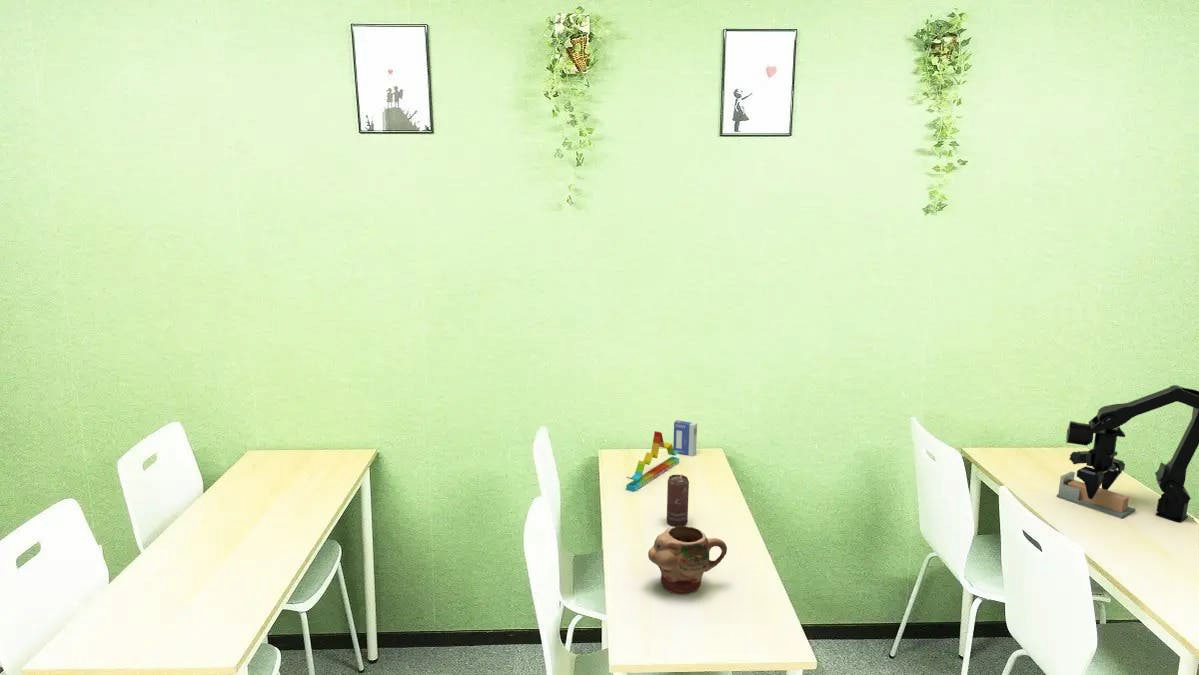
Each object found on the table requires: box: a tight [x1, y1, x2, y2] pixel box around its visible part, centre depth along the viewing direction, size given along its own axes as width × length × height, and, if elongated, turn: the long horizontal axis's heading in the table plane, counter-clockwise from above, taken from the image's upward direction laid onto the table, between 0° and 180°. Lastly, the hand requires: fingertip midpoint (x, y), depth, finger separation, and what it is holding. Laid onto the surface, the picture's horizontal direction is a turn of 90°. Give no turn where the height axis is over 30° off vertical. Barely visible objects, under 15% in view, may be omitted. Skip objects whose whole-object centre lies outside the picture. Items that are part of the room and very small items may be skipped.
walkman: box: [672, 419, 698, 457], centre depth 292 cm, size 8×3×12 cm, turn 64°
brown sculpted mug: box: [647, 525, 728, 595], centre depth 203 cm, size 20×12×14 cm, turn 104°
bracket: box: [1057, 471, 1084, 500], centre depth 257 cm, size 6×7×6 cm
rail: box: [1068, 479, 1130, 512], centre depth 252 cm, size 16×4×4 cm, turn 36°
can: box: [666, 474, 690, 527], centre depth 237 cm, size 6×6×14 cm
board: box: [1056, 493, 1136, 519], centre depth 253 cm, size 19×9×1 cm, turn 36°
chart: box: [625, 431, 680, 493], centre depth 271 cm, size 30×3×15 cm, turn 146°
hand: (1097, 495), depth 252 cm, fingers open, 9 cm apart
